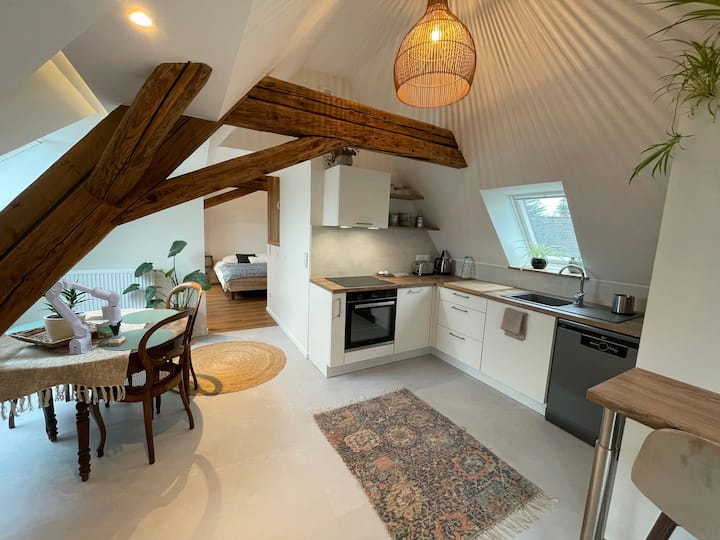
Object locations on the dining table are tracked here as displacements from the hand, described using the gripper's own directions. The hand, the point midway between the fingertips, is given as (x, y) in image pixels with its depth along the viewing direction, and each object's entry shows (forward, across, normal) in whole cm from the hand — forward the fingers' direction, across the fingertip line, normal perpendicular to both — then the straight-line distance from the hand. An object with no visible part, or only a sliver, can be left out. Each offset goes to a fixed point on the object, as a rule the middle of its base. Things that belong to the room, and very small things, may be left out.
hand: (116, 333), depth 181 cm
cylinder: (+3, 0, 0) cm, 3 cm away
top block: (+5, 0, 0) cm, 5 cm away
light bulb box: (+7, +61, +7) cm, 62 cm away
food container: (+7, +17, +5) cm, 19 cm away
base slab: (+7, 0, 0) cm, 7 cm away
